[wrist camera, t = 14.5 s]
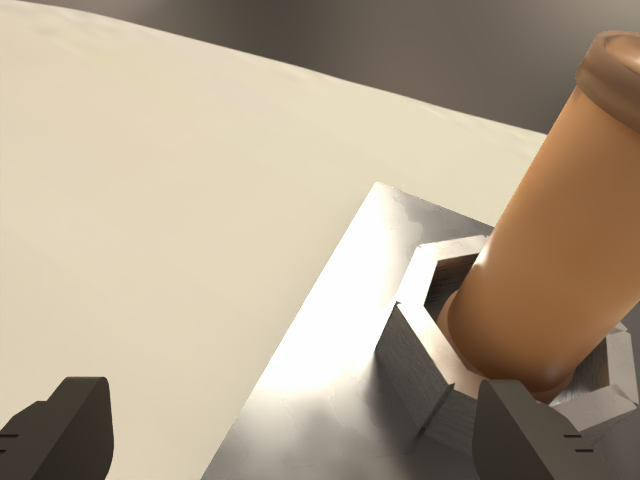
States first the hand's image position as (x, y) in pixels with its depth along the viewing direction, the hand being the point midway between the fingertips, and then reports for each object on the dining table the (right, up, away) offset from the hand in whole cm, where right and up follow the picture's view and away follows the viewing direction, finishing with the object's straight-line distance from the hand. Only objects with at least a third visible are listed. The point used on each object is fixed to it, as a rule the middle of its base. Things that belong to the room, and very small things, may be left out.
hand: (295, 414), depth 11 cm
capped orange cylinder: (+8, -1, +11) cm, 13 cm away
